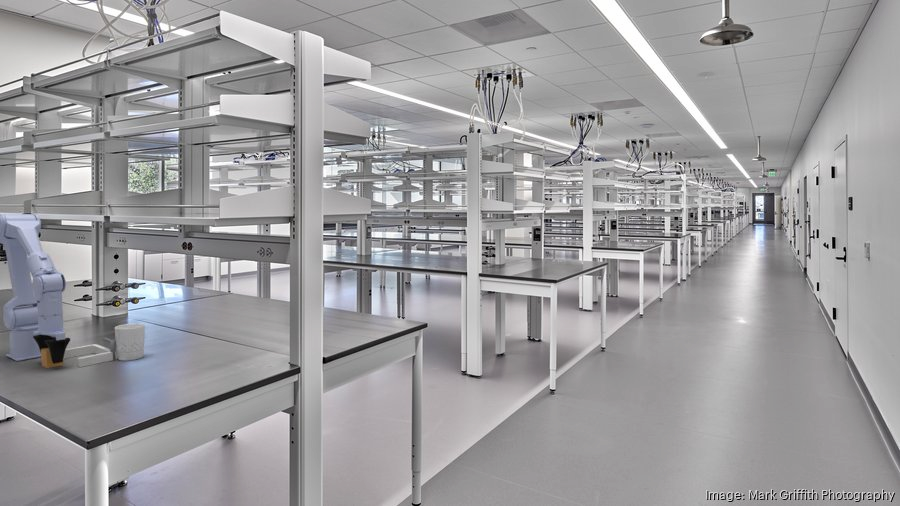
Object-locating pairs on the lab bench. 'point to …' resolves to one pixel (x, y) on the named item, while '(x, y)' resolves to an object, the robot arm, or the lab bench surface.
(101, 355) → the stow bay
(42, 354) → the tan wooden cube
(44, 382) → the lab bench surface
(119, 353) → the white cup
